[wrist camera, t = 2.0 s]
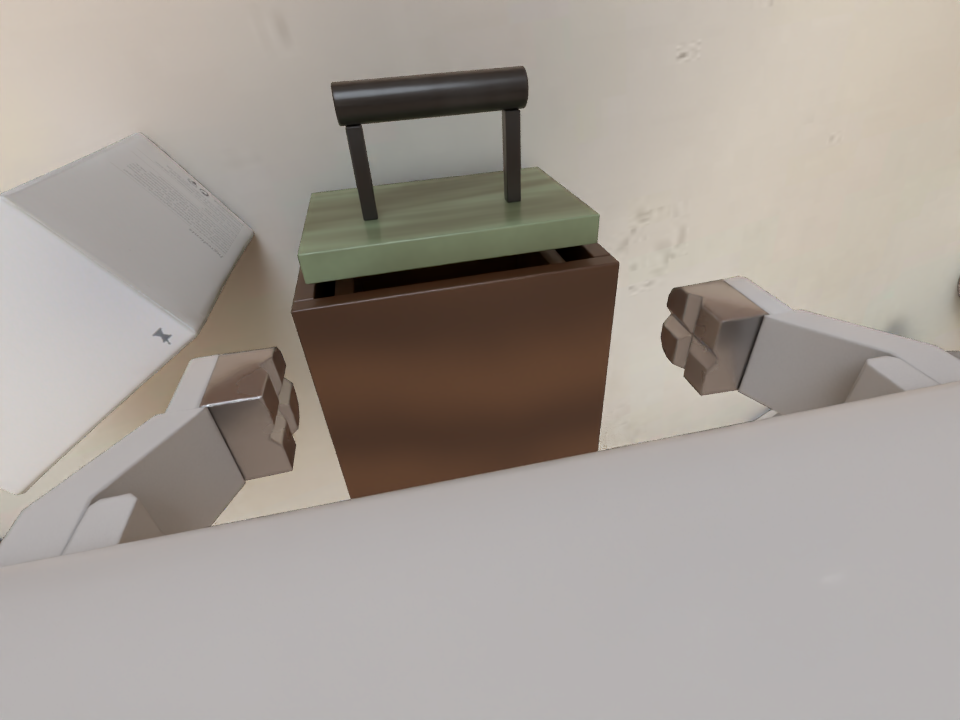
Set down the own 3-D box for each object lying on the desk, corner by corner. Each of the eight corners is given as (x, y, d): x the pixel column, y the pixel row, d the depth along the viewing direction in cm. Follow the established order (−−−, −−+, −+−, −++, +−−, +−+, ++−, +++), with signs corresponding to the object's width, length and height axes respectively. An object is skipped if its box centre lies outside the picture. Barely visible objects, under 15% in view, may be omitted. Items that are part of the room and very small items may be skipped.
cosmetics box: (132, 122, 21) (-11, 187, 13) (257, 230, 25) (209, 338, 16) (-8, 273, 23) (-210, 415, 15) (126, 353, 27) (24, 504, 19)
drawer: (281, 75, 21) (251, 98, 14) (539, 54, 22) (613, 66, 16) (364, 406, 31) (368, 502, 25) (535, 375, 33) (579, 458, 27)
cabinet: (308, 222, 25) (289, 311, 17) (543, 193, 27) (620, 262, 19) (363, 430, 34) (367, 552, 26) (539, 397, 35) (592, 502, 28)
